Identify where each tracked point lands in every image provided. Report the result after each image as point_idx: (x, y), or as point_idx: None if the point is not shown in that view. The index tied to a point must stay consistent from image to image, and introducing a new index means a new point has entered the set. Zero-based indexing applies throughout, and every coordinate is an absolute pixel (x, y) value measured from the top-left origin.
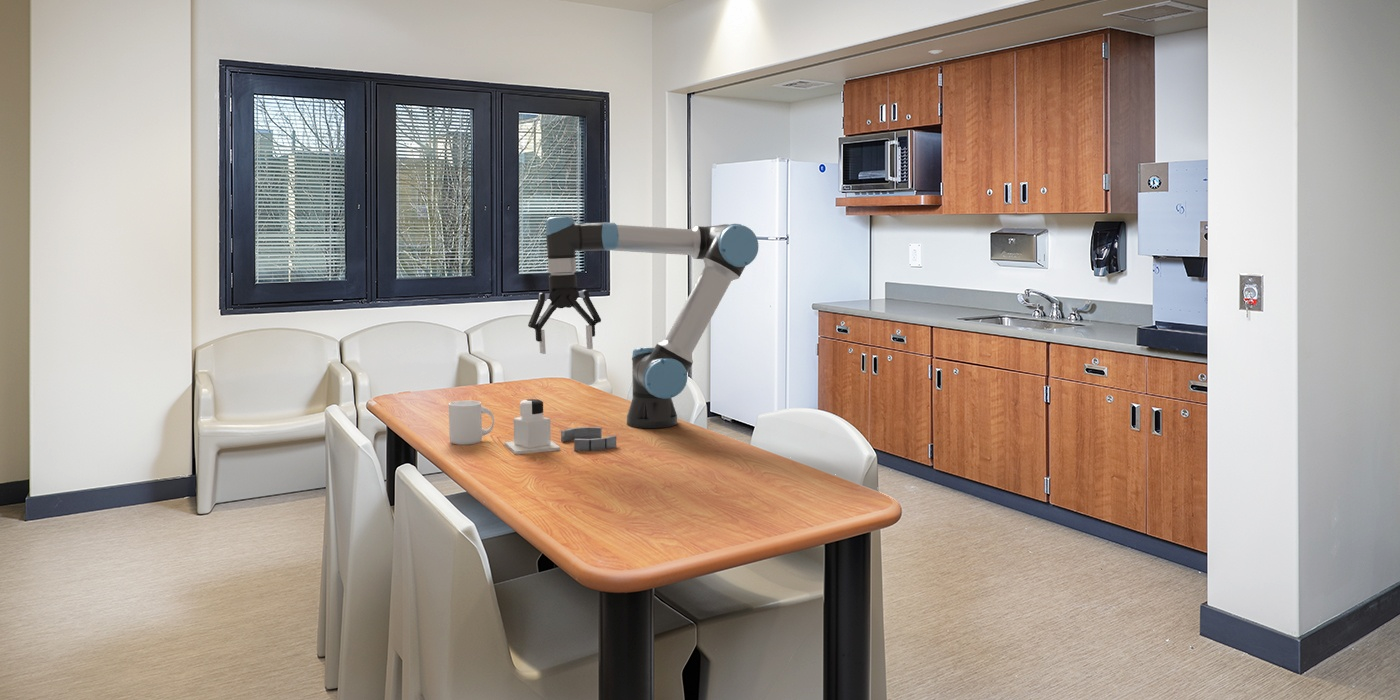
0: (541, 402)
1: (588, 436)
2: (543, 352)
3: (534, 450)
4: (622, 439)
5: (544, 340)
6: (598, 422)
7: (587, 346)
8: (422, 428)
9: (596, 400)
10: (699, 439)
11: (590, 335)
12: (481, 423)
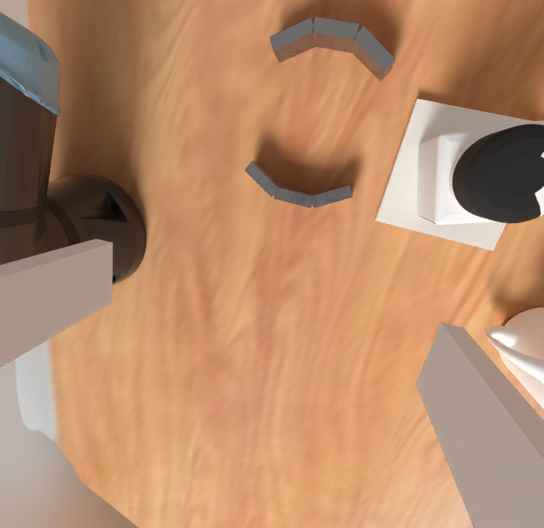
0: (496, 138)
1: (280, 184)
2: (463, 332)
3: (493, 113)
4: (221, 125)
5: (499, 396)
6: (182, 312)
7: (102, 296)
8: None
9: (103, 462)
10: (76, 11)
11: (11, 269)
12: (534, 340)
